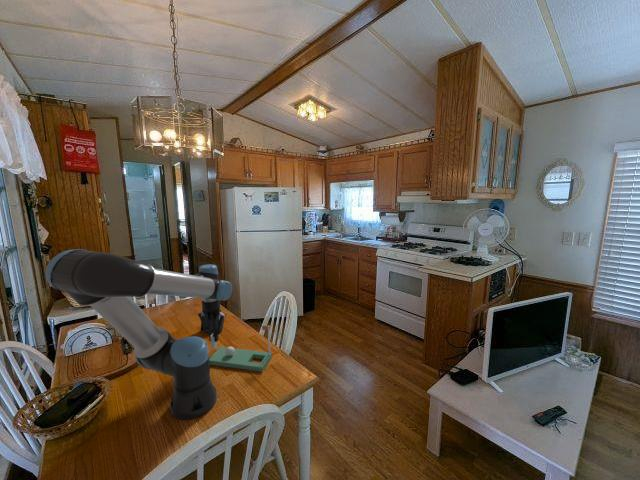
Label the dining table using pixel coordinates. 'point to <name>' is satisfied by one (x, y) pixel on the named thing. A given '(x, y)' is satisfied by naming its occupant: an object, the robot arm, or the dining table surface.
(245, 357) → the putting board
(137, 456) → the dining table surface
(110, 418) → the dining table surface
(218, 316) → the decorative object
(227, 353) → the ball
